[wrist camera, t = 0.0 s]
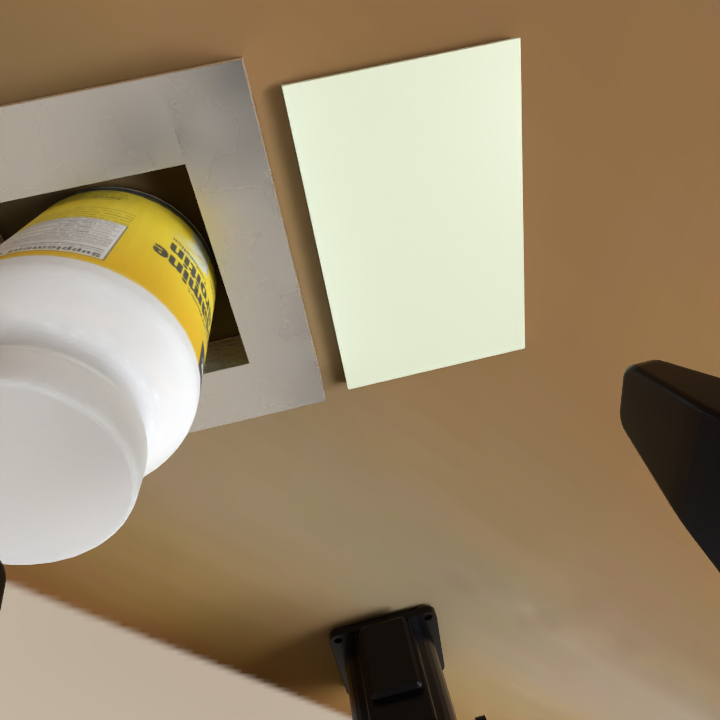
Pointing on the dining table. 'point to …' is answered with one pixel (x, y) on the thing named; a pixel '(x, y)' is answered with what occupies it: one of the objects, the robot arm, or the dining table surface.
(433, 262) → the mat
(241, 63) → the collar
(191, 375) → the pill bottle
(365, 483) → the dining table surface
